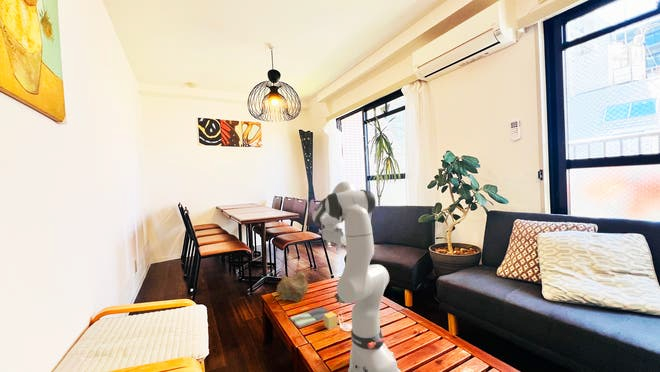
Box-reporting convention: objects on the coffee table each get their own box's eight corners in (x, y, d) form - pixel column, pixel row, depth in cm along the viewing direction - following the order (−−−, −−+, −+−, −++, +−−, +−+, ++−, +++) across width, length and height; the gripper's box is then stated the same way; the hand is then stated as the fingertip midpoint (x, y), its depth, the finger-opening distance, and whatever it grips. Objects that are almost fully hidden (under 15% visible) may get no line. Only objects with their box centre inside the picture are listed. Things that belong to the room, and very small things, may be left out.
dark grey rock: (328, 297, 175) (343, 305, 163) (328, 291, 175) (343, 299, 163) (351, 290, 186) (366, 296, 174) (350, 284, 186) (366, 290, 174)
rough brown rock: (291, 310, 161) (292, 285, 160) (272, 301, 171) (273, 277, 170) (316, 297, 179) (317, 275, 179) (298, 289, 189) (299, 268, 189)
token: (337, 326, 139) (336, 315, 139) (329, 329, 136) (328, 318, 136) (332, 322, 143) (331, 311, 143) (323, 325, 140) (323, 314, 140)
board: (333, 315, 150) (333, 314, 150) (299, 328, 139) (299, 326, 139) (322, 307, 160) (322, 306, 160) (289, 318, 149) (289, 317, 149)
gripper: (347, 228, 157) (348, 251, 158) (328, 224, 175) (329, 245, 175) (338, 229, 154) (339, 253, 154) (320, 225, 171) (320, 246, 172)
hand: (333, 249), depth 165 cm, fingers open, 8 cm apart
